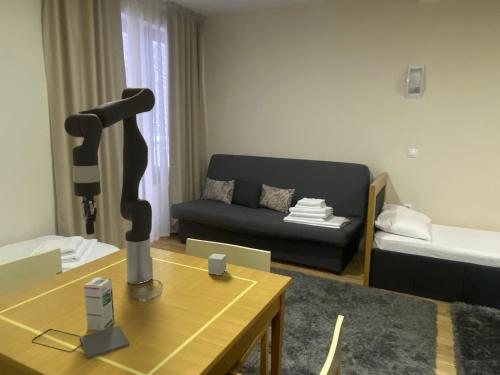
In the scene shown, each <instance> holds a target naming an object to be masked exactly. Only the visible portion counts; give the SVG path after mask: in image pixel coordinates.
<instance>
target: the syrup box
mask: <svg viewBox="0 0 500 375" xmlns="http://www.w3.org/2000/svg"><path fill="white" fill-rule="evenodd" d="M112 282H113V280H112V279H111V278H107V277H95V278H93V279H92V280H90V281H88V282H87V283H86V284H85V283H84V285H83V290H84V291H83V292H84V302H85V314H86V326H87V327H86V328H87V329H88V330H91V331H96V332H98V331H101V330H105V329H108V328H110V326H111V325H112V324H113V323H115V310H114V296H113V295H114V294H113V292H114V291H113V283H112Z"/></svg>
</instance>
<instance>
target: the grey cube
mask: <svg viewBox="0 0 500 375" xmlns="http://www.w3.org/2000/svg"><path fill="white" fill-rule="evenodd" d="M207 258H208V259H207V260H208V264H207V265H208V266H207V271H208V273H210V274H218V275H222V273H223V272H224V271H225V270H226V271H227V254H223V253H222V254H221V253H211V255H210V256H209V257H207ZM226 271H225V272H226ZM225 272H224V273H225ZM208 273H207V274H208ZM224 273H223V274H224ZM210 274H209V275H210ZM218 275H217V276H218ZM222 276H223V275H222Z"/></svg>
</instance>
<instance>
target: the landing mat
mask: <svg viewBox="0 0 500 375" xmlns="http://www.w3.org/2000/svg"><path fill="white" fill-rule="evenodd" d="M79 339H80V342H81V344H82V346H81V347H82V348H83V351H84V354H85V357H86V360H88V359H91V358H94V357H99V356H101V355H104V354H106V353H107V354H108V353H111V352H114V351H117V350H119V349H123V348H126V347H129V346H130V343H129V340H128V339H127V337H126V335H125V333H124V331H123V330H122V328H121V326H120V325H116V326H112V327H108V328H107V329H105V330H101V331H94V332H91V333H88V334H84V335H79Z"/></svg>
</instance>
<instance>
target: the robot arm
mask: <svg viewBox="0 0 500 375" xmlns="http://www.w3.org/2000/svg"><path fill="white" fill-rule="evenodd" d="M155 97H156V96H155V94H154V92H153V90H151V89H150V88H148V87H143V86H127V87H125V88H124V89H123V90H122V93H121V98H120V99H119V100H113V101H109V102H106V103H102V104H100V105H98V106H95V107H94V108H90V109H85V110H82V111H78V112H74V113H72V114H69V115H68V116H67V117H66V119H65V120H64V124H63V125H64V126H63V128H64V130H65V132H66V133H67V135H69V136H70V137H73V138H81V139H82V138H83V140H82V143H81V144H80V145H76V146H74V147H73V148H72V164H73V166H72V167H73V168H72V179H73V180H72V181H73V192H74V193H73V195H74V196H76V197H80V198H81V199H82V200H80V206H81V213H82V218H83V222H84V224H85V233H86V235H87V236H90V235H94V234H95V223H96V220H97V211H98V209H97V200H95V196H99V195H101V192H102V190H101V187H102V186H101V174H100V173H101V171H100V168H99V166H100V165H99V155H98V153H99V149H100V143H101V140H102V139H101V138H102V135H103V129H107V128H109V127H111V126H113V125H115V124H116V123H118V122H121V121H122V125H123V126H122V129H123V130H122V133H123V135H122V138H123V139H122V142H123V145H122V188H121V195H120V201H119V202H120V203H119V212H120V215H121V217H122V218H123V219H124V220H126V221H130V222H131V229H129V230H127V231H126V232H125V235H124V237H125V256H126V258H125V259H126V281H127V283H129V284H131V285H137V284H136V283H140V282H144V281H147V280H150V281H153V280H154V270H153V269H154V268H153V256H152V255H151V232H152V229H153V207H152V205H151V202H150V201H148V200H147V199H144V198H140V194H139V188H140V184H141V181H142V179H143V176H144V175H145V173H146V170H147V168H148V164H149V147H148V144H147V141H146V139H145V138H144V136H143V135H142V132H141V131H140V128H139V126H138V120H137V115H139V114H144V113H149V112H151V111H152V110H153V109H154V107H155V103H156V98H155ZM151 279H152V280H151Z"/></svg>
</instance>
